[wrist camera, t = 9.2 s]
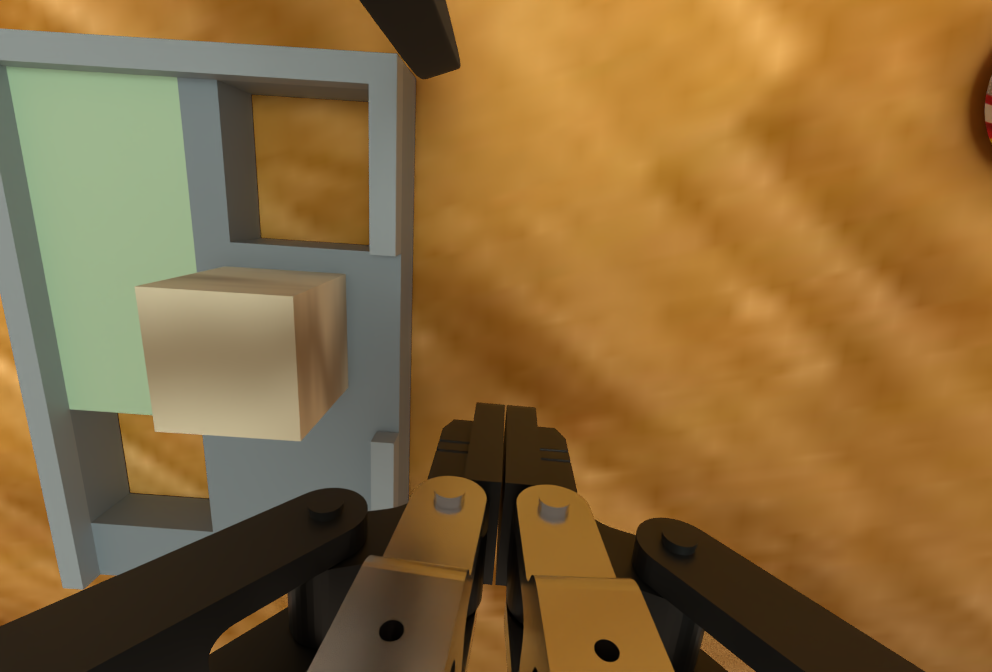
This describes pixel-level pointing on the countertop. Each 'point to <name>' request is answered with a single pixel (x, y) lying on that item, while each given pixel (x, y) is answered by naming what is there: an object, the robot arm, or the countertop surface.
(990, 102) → the soda can
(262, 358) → the maple block
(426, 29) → the coffee press
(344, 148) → the countertop surface
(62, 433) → the box
